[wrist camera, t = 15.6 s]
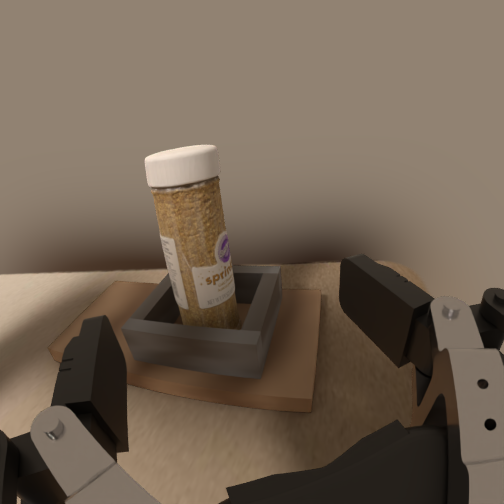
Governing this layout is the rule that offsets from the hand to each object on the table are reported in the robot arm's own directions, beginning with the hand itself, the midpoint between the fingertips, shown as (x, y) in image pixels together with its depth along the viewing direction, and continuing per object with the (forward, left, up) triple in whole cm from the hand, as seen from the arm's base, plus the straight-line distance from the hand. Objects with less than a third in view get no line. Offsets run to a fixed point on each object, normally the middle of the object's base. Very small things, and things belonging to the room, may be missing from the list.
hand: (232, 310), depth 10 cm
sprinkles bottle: (-6, +9, -9) cm, 14 cm away
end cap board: (-9, +10, -10) cm, 17 cm away
